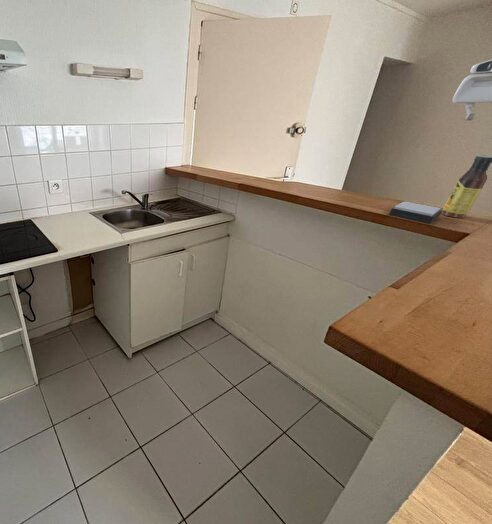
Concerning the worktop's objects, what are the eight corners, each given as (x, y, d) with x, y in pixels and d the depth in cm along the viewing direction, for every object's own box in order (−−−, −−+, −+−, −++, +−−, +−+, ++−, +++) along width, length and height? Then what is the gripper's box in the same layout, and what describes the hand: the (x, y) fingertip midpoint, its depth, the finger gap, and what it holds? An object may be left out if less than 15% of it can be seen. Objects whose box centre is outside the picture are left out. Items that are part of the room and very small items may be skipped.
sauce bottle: (443, 211, 102) (474, 153, 92) (467, 216, 97) (503, 156, 88) (437, 215, 99) (469, 155, 89) (462, 220, 94) (498, 158, 85)
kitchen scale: (438, 217, 97) (443, 208, 96) (429, 224, 91) (434, 214, 90) (399, 209, 105) (403, 200, 103) (388, 215, 99) (392, 206, 98)
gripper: (589, 57, 69) (551, 120, 75) (470, 67, 84) (447, 119, 90) (587, 55, 66) (548, 121, 72) (464, 66, 81) (441, 120, 87)
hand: (491, 120), depth 81 cm, fingers open, 8 cm apart
